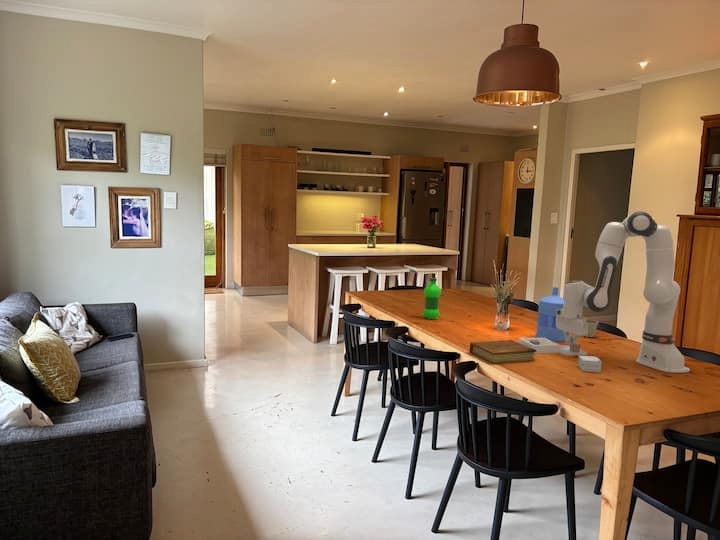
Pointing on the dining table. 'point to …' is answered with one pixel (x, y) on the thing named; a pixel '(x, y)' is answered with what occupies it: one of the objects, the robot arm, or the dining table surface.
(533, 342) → the pebble charcoal
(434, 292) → the plastic bottle
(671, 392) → the dining table surface
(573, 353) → the tray
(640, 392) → the dining table surface
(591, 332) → the flower pot
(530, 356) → the diary
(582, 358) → the small box
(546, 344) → the flat white box
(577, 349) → the pebble brown
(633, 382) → the dining table surface
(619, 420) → the dining table surface
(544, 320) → the water jug
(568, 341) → the pebble slate
